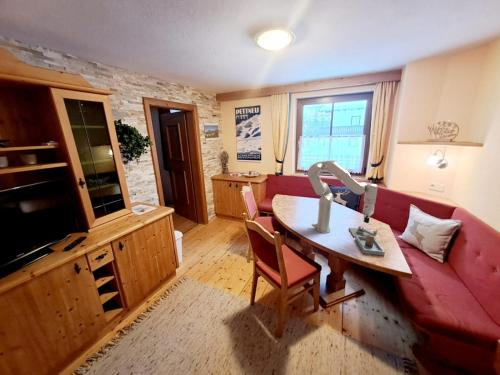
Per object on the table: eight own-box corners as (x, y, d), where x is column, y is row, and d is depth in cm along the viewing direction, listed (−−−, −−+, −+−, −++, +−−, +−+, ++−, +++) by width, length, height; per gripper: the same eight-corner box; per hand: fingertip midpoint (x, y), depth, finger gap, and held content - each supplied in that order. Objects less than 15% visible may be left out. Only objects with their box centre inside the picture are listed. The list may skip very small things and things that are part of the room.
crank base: (353, 236, 156) (354, 233, 155) (348, 228, 169) (349, 225, 169) (372, 238, 153) (373, 235, 153) (366, 230, 167) (366, 227, 166)
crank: (356, 229, 161) (357, 224, 160) (360, 228, 163) (361, 222, 162) (373, 237, 149) (375, 231, 147) (377, 235, 151) (378, 230, 150)
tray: (363, 253, 135) (364, 249, 134) (355, 239, 153) (356, 235, 152) (384, 255, 132) (385, 251, 132) (373, 241, 150) (374, 237, 149)
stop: (366, 247, 140) (368, 237, 138) (363, 243, 145) (365, 234, 143) (373, 247, 140) (375, 238, 138) (370, 244, 144) (372, 234, 142)
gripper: (371, 203, 136) (367, 227, 141) (378, 199, 145) (375, 221, 150) (360, 201, 142) (357, 223, 146) (367, 196, 151) (364, 218, 156)
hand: (366, 222), depth 148 cm, fingers closed
